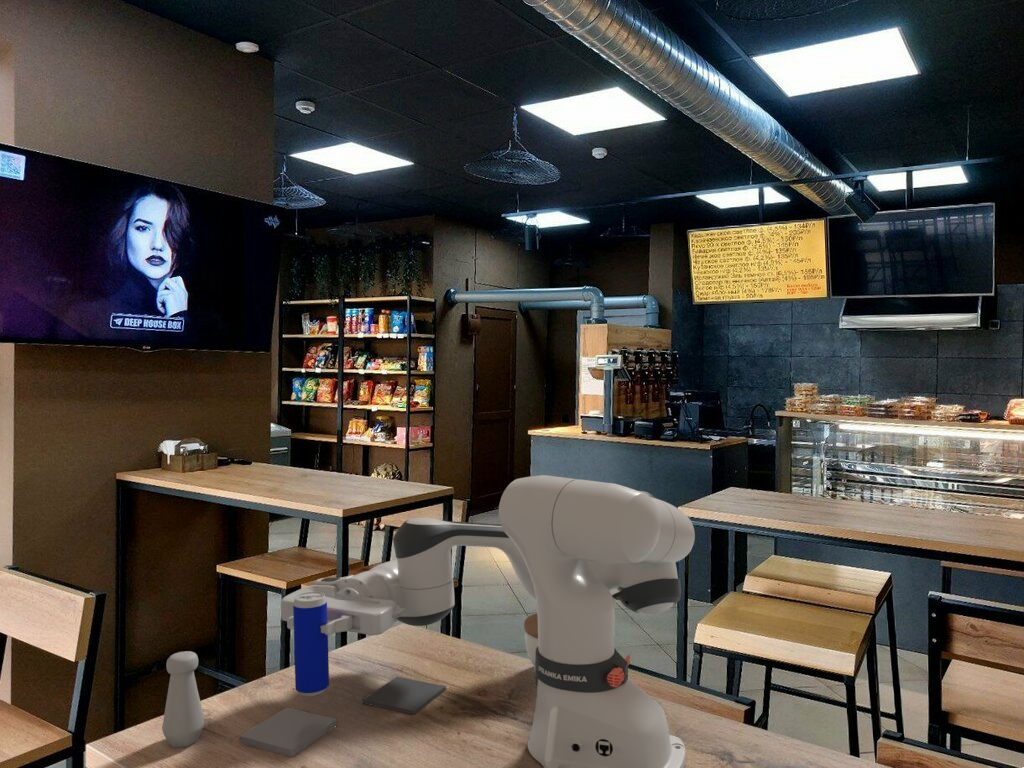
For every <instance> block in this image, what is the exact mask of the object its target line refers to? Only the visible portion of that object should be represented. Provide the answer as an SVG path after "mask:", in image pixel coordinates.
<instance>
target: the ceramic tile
mask: <svg viewBox="0 0 1024 768" xmlns="http://www.w3.org/2000/svg"><path fill="white" fill-rule="evenodd" d="M335 726H337V727H338V719H335V718H332V717H328V716H325V715H324V716H323V715H319V714H315V713H310V712H307V711H303V710H298V709H295V708H290V707H286V708H284V709H282V710H281V711H278V712H277V713H275V714H273V715H272V716H271V717H268V718H267V719H266V720H264V721H262V722H261V723H259V724H257V725H256V726H254V727H252V728H251V729H249V730H246V731H245V732H244V733H242V734H241V735H239V743H240V744H242V745H243V744H244V745H248V746H251V747H254V748H259V749H262V750H265V751H269V752H272V751H273V752H272V753H276V754H280V755H283V756H287V755H288V757H290V756H291V757H292V758H294V757H295V756H297V755H298V754H299V753H301V752H302V751H304V750H305V749H306V748H309V746H310V744H311V745H312V744H314V743H315V742H316V741H318V740H320V739H321V738H322V737H324V736H325V735H326V733H327V732H328V731H329V732H331V731H332V730H334V729H335V728H336V727H335ZM334 727H335V728H334ZM333 728H334V729H333ZM331 729H332V730H331ZM330 730H331V731H330ZM329 732H328V733H329ZM328 733H327V734H328ZM324 734H325V735H324ZM323 735H324V736H323ZM321 736H322V737H321ZM320 737H321V738H320ZM317 739H318V740H317ZM313 742H314V743H313ZM297 753H298V754H297Z"/></svg>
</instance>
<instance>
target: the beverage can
mask: <svg viewBox="0 0 1024 768" xmlns="http://www.w3.org/2000/svg"><path fill="white" fill-rule="evenodd" d="M293 618H294V629H293V644H294V645H293V649H294V650H293V651H294V652H293V653H294V676H295V677H294V680H295V681H294V682H295V685H294V687H295V691H296V692H297V693H298V694H299V695H300V696H303V697H304V696H305V697H313V696H317V695H321V694H323V693H324V692H325V691H326V690H327V689H328V688H329V685H330V668H329V667H330V666H329V661H330V660H329V636H328V635H323V634H321V633H320V631H321V628H320V625H321V624H322V623H323V622H325V621H327V600H326V597H325V595H324V594H323V593H321V592H307V593H303V594H300V595H297V596H296V597H295V599H294V603H293Z"/></svg>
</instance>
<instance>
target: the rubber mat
mask: <svg viewBox="0 0 1024 768" xmlns="http://www.w3.org/2000/svg"><path fill="white" fill-rule="evenodd" d="M446 690H447V687H446V685H441V684H436V683H432V682H431V683H430V682H427V681H426V682H425V681H421V680H416V679H411V678H405V677H402V676H401V677H400V676H396V677H394V678H393V679H390V681H388V682H387V683H385V684H383V686H381V687H379V688H378V689H376V690H375V691H373V692H372V693H370V694H369V695H367V696H366V697H364V698H363V699H362V704H364V703H367V704H366V705H368V704H372V705H371V706H373V705H376V706H375V707H378V706H379V708H382V707H383V709H387V708H388V709H387V710H392V711H397V712H400V711H401V712H400V713H405V712H406V713H405V714H409V713H410V714H409V715H416V714H418V713H419V712H420V711H421V710H423V709H424V708H425V707H426V706H428V705H429V704H430V703H431V702H433V701H434V700H435V699H436V698H437V697H439V696H440V695H442V694H443V693H444V692H445V691H446ZM443 691H444V692H443ZM442 692H443V693H442Z"/></svg>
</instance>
